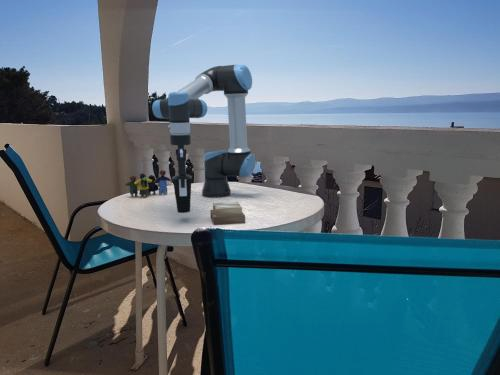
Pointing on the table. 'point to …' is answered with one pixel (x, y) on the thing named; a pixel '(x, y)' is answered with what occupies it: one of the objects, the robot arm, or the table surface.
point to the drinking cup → (182, 201)
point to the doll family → (148, 185)
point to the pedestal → (227, 213)
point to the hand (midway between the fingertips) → (182, 193)
